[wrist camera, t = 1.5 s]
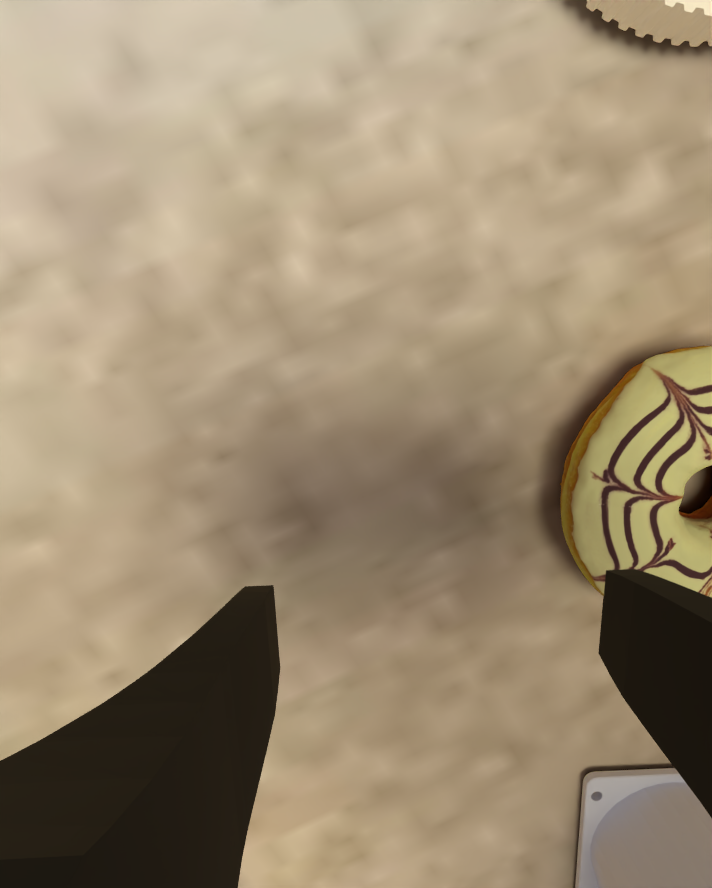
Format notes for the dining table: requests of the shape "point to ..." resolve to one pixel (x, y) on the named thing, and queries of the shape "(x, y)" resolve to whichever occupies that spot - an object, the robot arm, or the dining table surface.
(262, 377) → the dining table surface
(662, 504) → the decorated donut
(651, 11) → the plastic lid
